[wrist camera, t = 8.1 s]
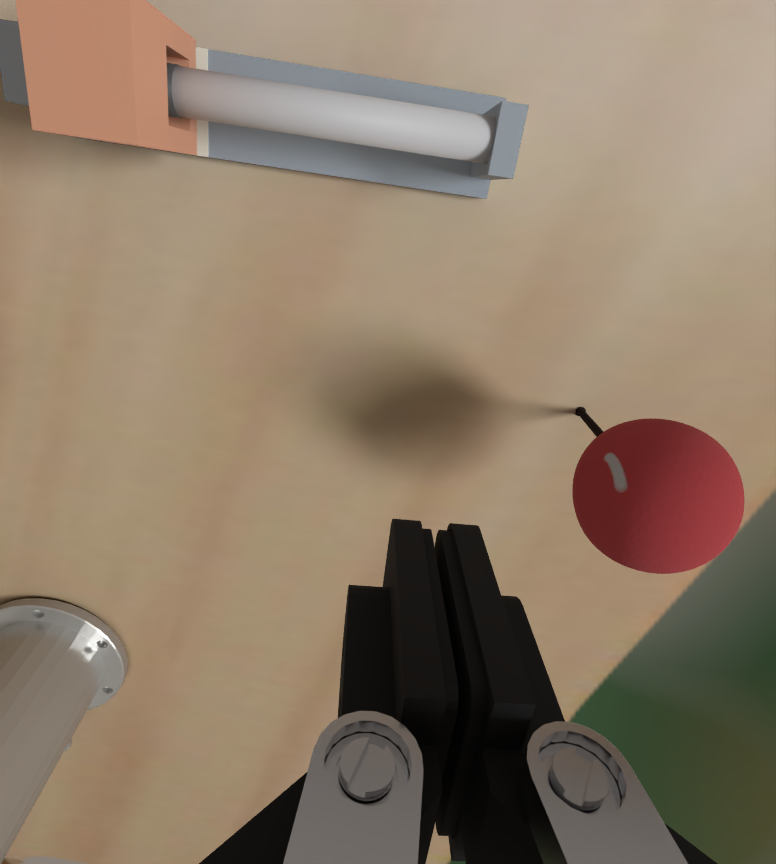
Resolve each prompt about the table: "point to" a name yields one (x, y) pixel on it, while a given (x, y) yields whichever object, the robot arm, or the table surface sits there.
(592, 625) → the table surface
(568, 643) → the table surface
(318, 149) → the rail
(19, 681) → the robot arm
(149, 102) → the collar
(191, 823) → the table surface
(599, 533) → the lollipop
